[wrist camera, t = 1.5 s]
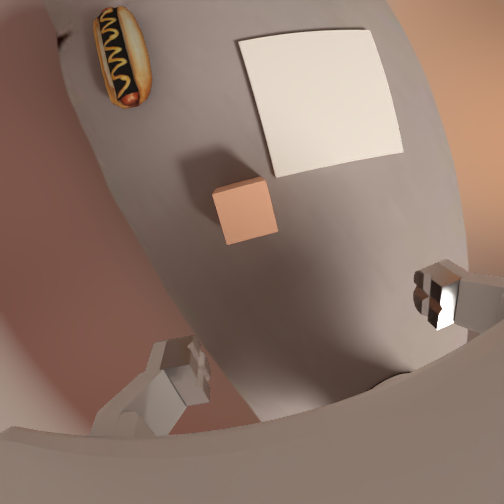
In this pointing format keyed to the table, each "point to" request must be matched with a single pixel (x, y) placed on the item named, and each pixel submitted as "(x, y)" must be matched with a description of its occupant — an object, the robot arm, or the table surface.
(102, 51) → the hot dog
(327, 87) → the mat
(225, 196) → the cube
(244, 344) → the table surface
